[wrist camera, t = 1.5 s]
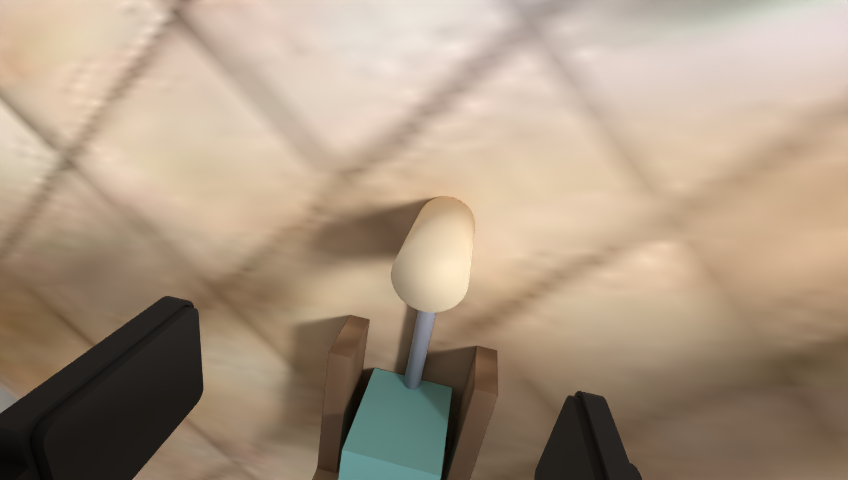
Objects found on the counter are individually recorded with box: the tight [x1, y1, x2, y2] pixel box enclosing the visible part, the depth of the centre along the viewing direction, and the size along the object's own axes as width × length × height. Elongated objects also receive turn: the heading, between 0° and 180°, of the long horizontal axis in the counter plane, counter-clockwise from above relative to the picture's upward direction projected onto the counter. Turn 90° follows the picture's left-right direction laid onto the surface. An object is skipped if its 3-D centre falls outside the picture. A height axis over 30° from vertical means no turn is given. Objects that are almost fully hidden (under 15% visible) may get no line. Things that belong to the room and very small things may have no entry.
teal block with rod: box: [338, 197, 475, 480], centre depth 21 cm, size 17×5×6 cm, turn 170°
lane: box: [312, 315, 498, 480], centre depth 23 cm, size 9×10×6 cm
